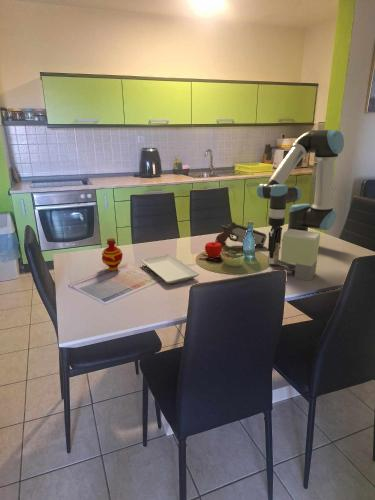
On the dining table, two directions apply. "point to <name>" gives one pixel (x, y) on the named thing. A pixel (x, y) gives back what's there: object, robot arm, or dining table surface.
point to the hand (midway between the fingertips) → (273, 262)
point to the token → (290, 270)
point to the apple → (213, 249)
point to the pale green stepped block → (301, 252)
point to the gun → (239, 235)
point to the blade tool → (280, 260)
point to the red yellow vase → (112, 255)
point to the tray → (170, 268)
